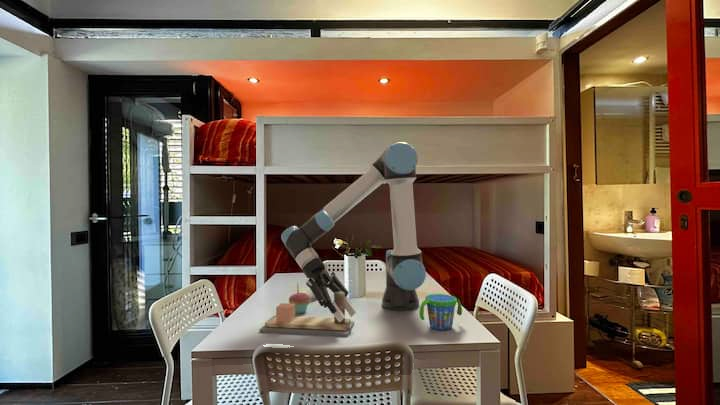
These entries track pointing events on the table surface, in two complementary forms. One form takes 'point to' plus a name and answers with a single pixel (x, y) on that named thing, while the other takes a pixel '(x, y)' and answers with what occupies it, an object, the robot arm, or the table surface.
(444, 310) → the snack cup
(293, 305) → the cube
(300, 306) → the cupcake
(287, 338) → the table surface
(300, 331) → the lane board
